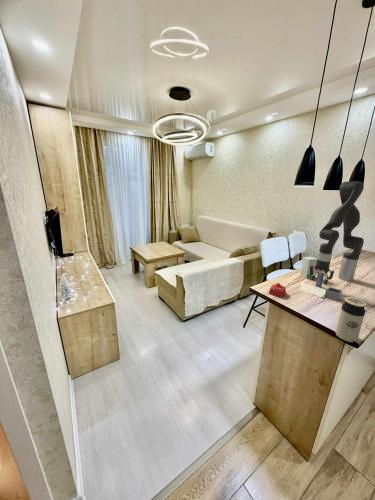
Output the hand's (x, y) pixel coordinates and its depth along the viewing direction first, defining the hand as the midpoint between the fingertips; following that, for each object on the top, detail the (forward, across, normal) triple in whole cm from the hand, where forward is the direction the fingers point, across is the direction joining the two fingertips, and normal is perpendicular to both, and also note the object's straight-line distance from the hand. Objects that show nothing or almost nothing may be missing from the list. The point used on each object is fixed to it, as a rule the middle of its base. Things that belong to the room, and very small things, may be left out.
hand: (319, 282), depth 142 cm
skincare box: (+4, +12, -13) cm, 18 cm away
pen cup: (+4, -11, +9) cm, 15 cm away
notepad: (+4, +1, +9) cm, 10 cm away
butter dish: (+4, +13, +33) cm, 36 cm away
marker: (+4, 0, 0) cm, 4 cm away
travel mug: (+4, -26, +46) cm, 54 cm away
